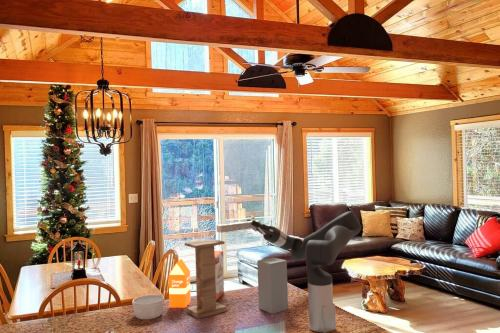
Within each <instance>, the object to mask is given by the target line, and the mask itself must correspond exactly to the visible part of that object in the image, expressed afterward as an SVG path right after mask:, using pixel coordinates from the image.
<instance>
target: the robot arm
mask: <svg viewBox="0 0 500 333" xmlns="http://www.w3.org/2000/svg"><path fill="white" fill-rule="evenodd" d="M246 221H252V223H251V224H252V225H254V226H255V227H258V228H251V230H253V231H254V232H258V233H259V235H260V234H261V235H263V236H262V237H263V240H265V241H267V242H269V243H270V244H273V245H274V246H277V247H278V248H280V249H283V250H285V251H289V250H290V255H291V258H292V259H293V260H296V261H300V260H302V259H304V258H305V264H306V265H305V266H306V276H307V294H308V295H307V296H308V297H307V298H308V299H307V300H308V328H309V330H311V331H314V332H317V333H329V332H331V331H335V330H336V329H337V326H336V325H337V324H336V322H337V321H336V304H335V303H334V294H333V292H334V290H333V289H334V288H333V287H334V286H333V276H332V274H330V273H328V272H327V271H325V270H323V269H322V268H320V266H331V265H332V264H334V262H335V261H336V259H337V258H338V255H339V254H340V253H341V251H342V250H343V249H344V248H345V247H346V246H347V245H348V243H349V242H350V240H352V239H353V238H354V237H356V236H357V235H358V234H359V233H360V232H361V230H362V225H361V222H360V221H359V220H358V218H357V216H356V215H355V213H354V212H353V211H351V210H348V211H346V212H343V213H342V214H340V215H338V216H337V217H335V218H334V219H332V220H331V221H329V222H328V223H326V224H324V226H322V227H321V228H319V229H318V230H316V231H315V232H312V233H310V234H309V235H307V236H305V237H304V238H303V240H302V239H301V238H299V237H293V236H290V235H288V234H286V233H285V232H284V231H283V230H281V229H280V228H278V227H276V226H274V225H267V224H265V223H258V222H257V221H255V219H253V220H251V219H248V218H247V220H246Z"/></svg>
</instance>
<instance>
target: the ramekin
mask: <svg viewBox="0 0 500 333" xmlns="http://www.w3.org/2000/svg"><path fill="white" fill-rule="evenodd" d="M164 302H165V297H164V296H163V295H161V294H144V295H140V296H137V297H134V298H133V299H132V302H131V304H132V308H133V314H134V316H135V318H136V319H138V320H139V319H140V320H151V319H155V318H158V317H160V316H161V315H162V314H163V311H164V310H163V309H164Z"/></svg>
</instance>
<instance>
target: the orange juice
mask: <svg viewBox="0 0 500 333" xmlns="http://www.w3.org/2000/svg"><path fill="white" fill-rule="evenodd" d="M168 292H169V294H168V295H169V296H168V298H169V308H188V306H187V305H190V302H192V301H191V300H192V298H191V270H190V269H189V267H188V266H187V265H186V263H185V262H184V261H183V259H182V258H181V259H179V260H178V261H177V262H176V263H175V265H174V266H173V268H172V269H171V271H170V272H169V274H168Z"/></svg>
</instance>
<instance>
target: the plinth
mask: <svg viewBox="0 0 500 333" xmlns="http://www.w3.org/2000/svg"><path fill="white" fill-rule="evenodd" d="M256 261H257V262H256V263H257V293H258V296H257V297H258V309H259V310H261V311H265V312H266V313H269V314H277V313H280V312H283V311H286V310H288V309H289V298H288V297H289V294H288V290H289V289H288V268H287V267H288V266H287V265H288V264H287V262H288V261H287V259H282V258H277V257H268V258H264V259H258V260H256Z"/></svg>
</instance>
